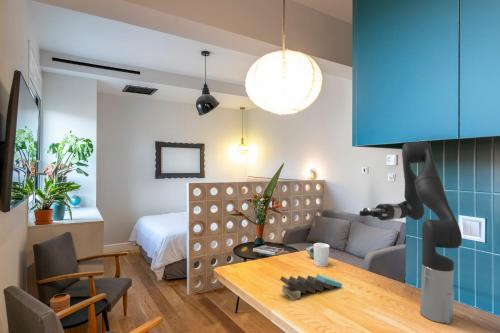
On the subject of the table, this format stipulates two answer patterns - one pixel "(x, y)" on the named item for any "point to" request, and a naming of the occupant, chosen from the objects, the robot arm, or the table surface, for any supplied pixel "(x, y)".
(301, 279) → the domino
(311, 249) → the robot head
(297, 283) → the domino
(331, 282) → the domino
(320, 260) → the white cup
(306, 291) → the domino
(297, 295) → the end stop
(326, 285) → the domino
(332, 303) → the table surface
